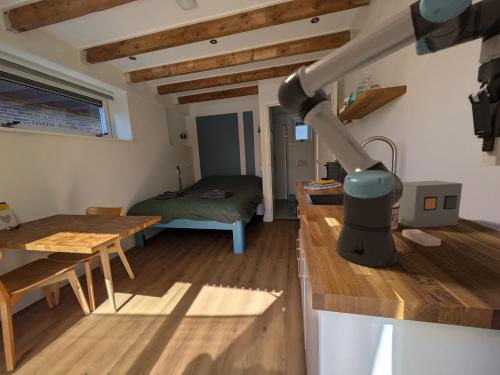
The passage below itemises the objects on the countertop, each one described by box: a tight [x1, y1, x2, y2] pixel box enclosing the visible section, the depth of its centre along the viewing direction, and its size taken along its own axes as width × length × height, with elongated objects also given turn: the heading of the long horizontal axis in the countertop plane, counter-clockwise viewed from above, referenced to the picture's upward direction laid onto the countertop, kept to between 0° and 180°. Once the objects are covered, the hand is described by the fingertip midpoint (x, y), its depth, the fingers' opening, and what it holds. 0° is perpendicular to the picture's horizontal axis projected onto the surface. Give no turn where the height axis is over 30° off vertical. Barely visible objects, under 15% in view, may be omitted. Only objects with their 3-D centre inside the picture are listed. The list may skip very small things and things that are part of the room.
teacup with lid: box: [391, 203, 400, 231], centre depth 78 cm, size 12×9×12 cm
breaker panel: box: [397, 180, 463, 229], centre depth 79 cm, size 18×10×16 cm, turn 94°
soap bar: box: [402, 228, 442, 247], centre depth 65 cm, size 5×9×2 cm, turn 0°
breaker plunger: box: [424, 197, 436, 209], centre depth 79 cm, size 4×10×4 cm, turn 4°
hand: (490, 165), depth 48 cm, fingers closed
